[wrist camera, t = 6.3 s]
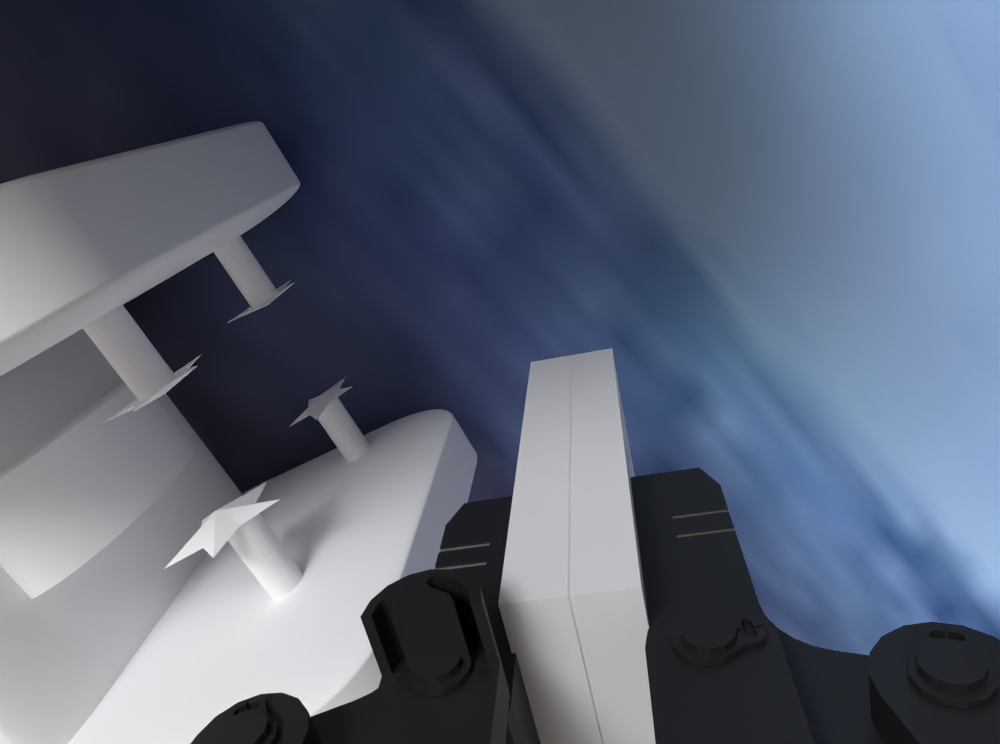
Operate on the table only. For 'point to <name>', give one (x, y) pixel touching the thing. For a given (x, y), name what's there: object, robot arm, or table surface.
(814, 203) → the table surface
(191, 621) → the cable organizer
